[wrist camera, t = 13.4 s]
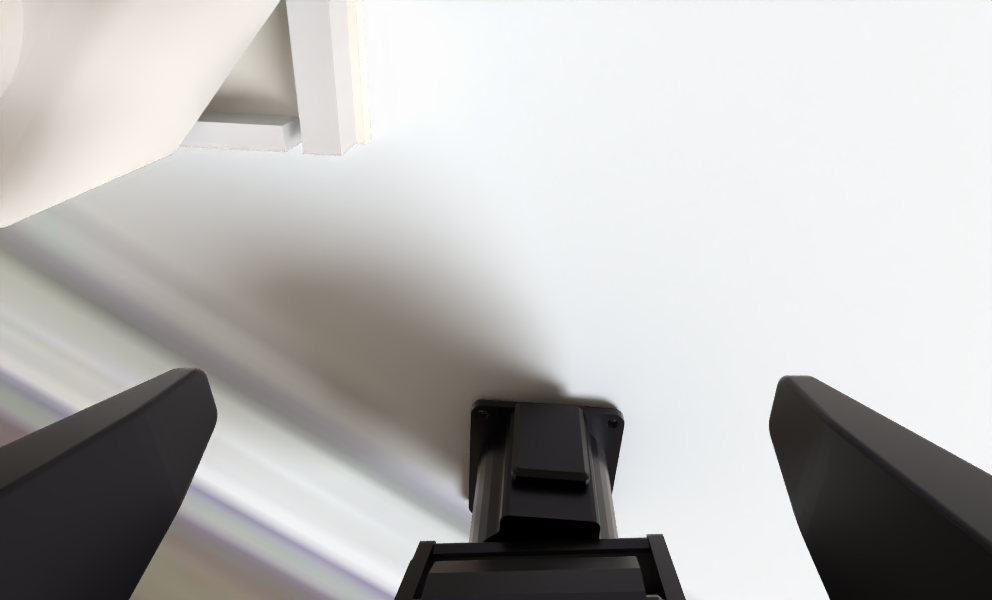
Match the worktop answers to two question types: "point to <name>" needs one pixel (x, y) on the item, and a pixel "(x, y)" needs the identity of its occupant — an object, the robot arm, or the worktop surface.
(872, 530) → the robot arm
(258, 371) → the worktop surface
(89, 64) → the medicine bottle
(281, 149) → the lane
